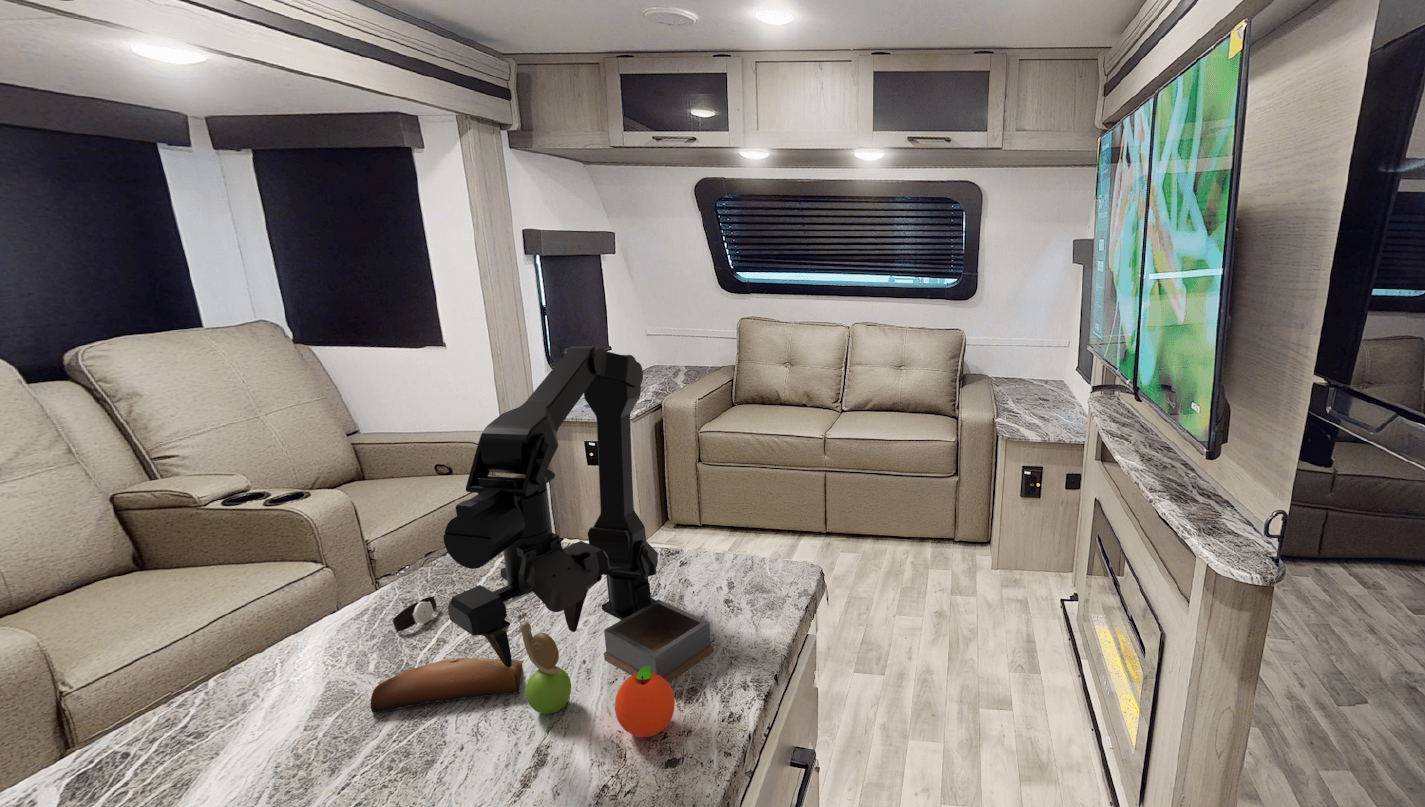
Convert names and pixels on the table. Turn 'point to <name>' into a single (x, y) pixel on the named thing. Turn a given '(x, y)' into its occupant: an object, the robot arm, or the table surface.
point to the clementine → (644, 703)
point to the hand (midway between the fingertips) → (541, 647)
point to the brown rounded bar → (447, 683)
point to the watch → (415, 614)
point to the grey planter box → (658, 641)
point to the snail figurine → (544, 672)
